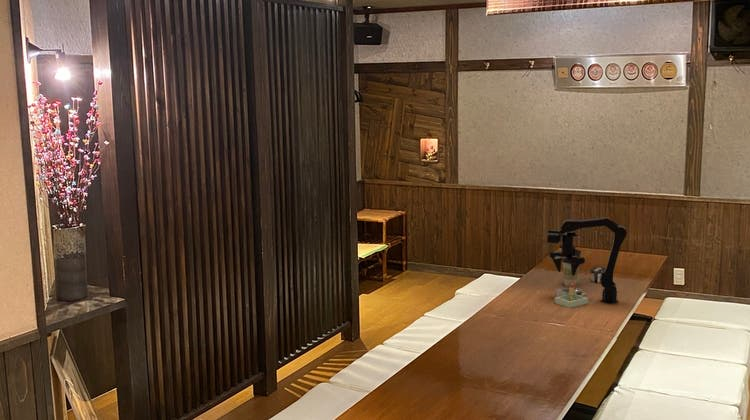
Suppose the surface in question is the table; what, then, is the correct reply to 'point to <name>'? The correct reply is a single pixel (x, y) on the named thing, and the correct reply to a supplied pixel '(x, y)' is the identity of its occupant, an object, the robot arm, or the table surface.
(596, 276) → the architectural model
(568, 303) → the tray
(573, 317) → the table surface
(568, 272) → the coffee cup
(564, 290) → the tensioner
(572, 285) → the lock pin
